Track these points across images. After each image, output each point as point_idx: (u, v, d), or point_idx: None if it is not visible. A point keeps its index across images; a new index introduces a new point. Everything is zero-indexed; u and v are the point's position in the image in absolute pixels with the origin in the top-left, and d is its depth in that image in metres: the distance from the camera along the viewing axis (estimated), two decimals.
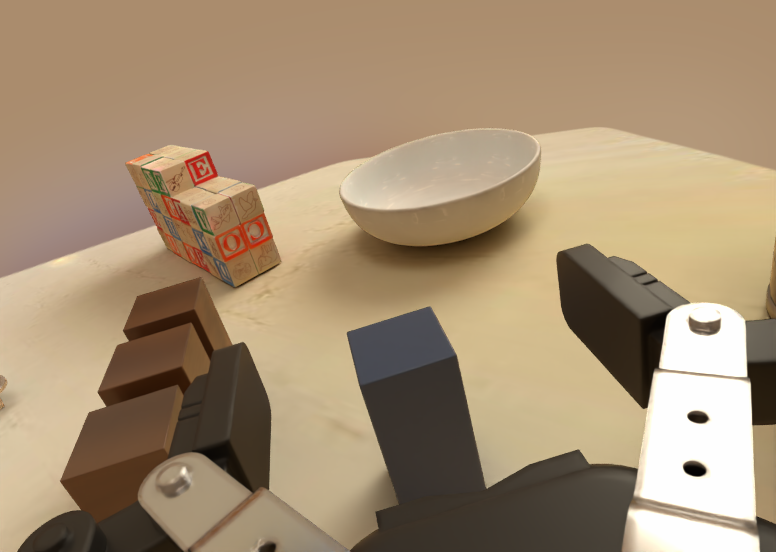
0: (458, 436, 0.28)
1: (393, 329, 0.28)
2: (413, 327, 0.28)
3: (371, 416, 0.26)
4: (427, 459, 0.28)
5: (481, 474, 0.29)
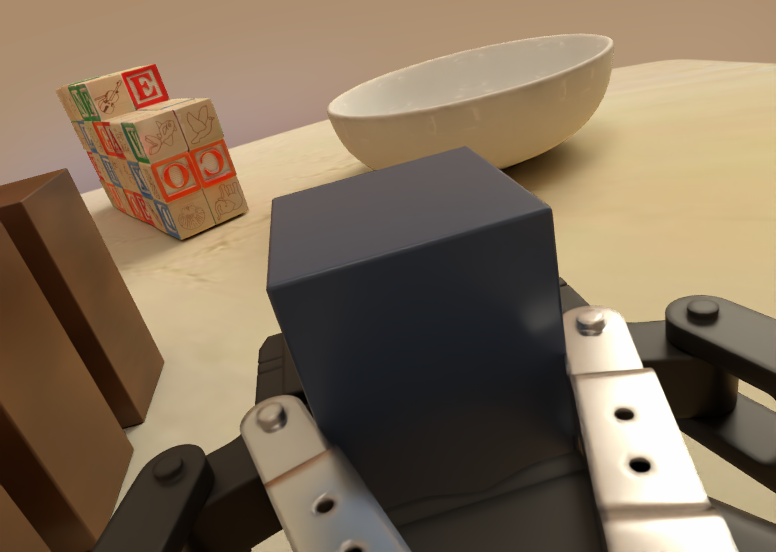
0: (539, 448, 0.11)
1: (379, 183, 0.12)
2: (427, 176, 0.11)
3: (307, 384, 0.09)
4: None
5: None
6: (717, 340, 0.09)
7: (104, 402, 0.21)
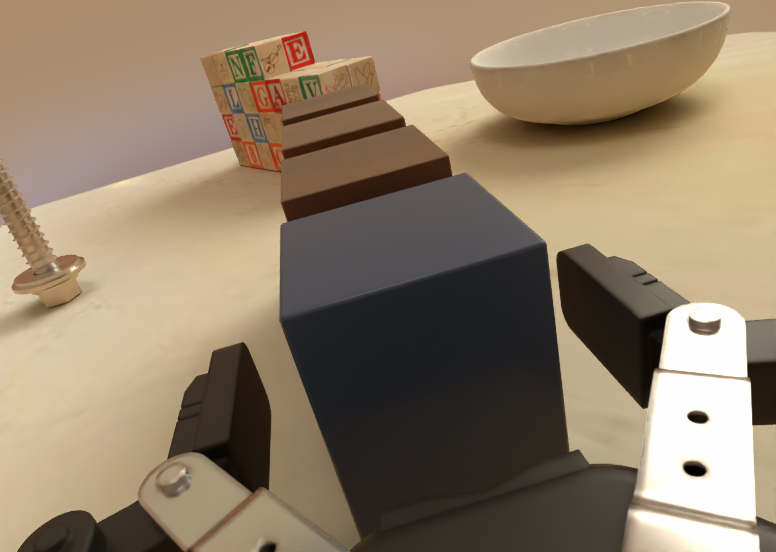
0: None
1: (382, 211, 0.12)
2: (429, 204, 0.12)
3: (317, 406, 0.10)
4: None
5: None
6: None
7: None
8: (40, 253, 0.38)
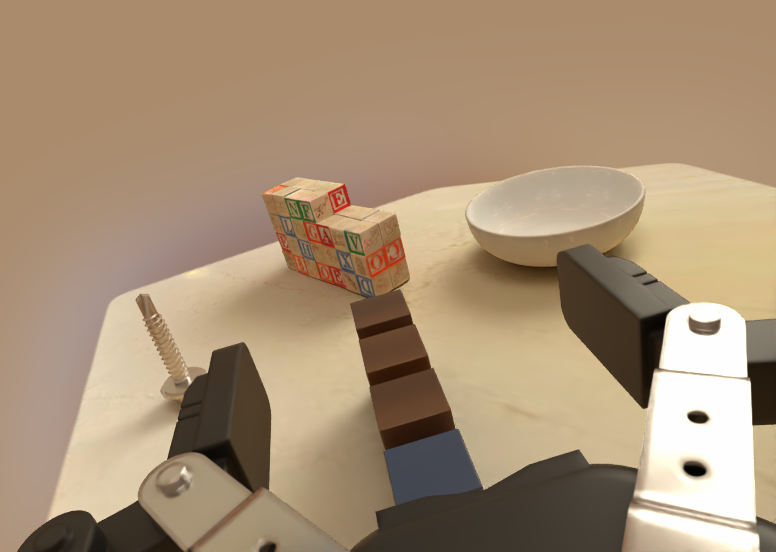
0: None
1: (425, 452, 0.32)
2: (443, 451, 0.32)
3: None
4: None
5: None
6: None
7: None
8: (181, 371, 0.58)
